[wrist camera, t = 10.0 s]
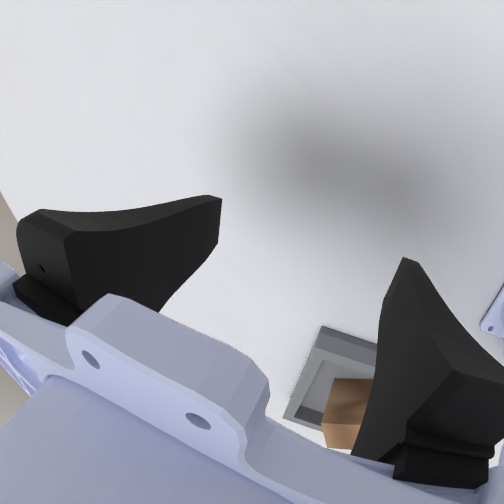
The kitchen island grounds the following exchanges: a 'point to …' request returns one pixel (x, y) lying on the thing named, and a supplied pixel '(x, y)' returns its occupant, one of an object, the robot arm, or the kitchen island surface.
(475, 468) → the robot arm
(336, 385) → the walnut block
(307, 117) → the kitchen island surface
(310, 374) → the tray
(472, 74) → the kitchen island surface
